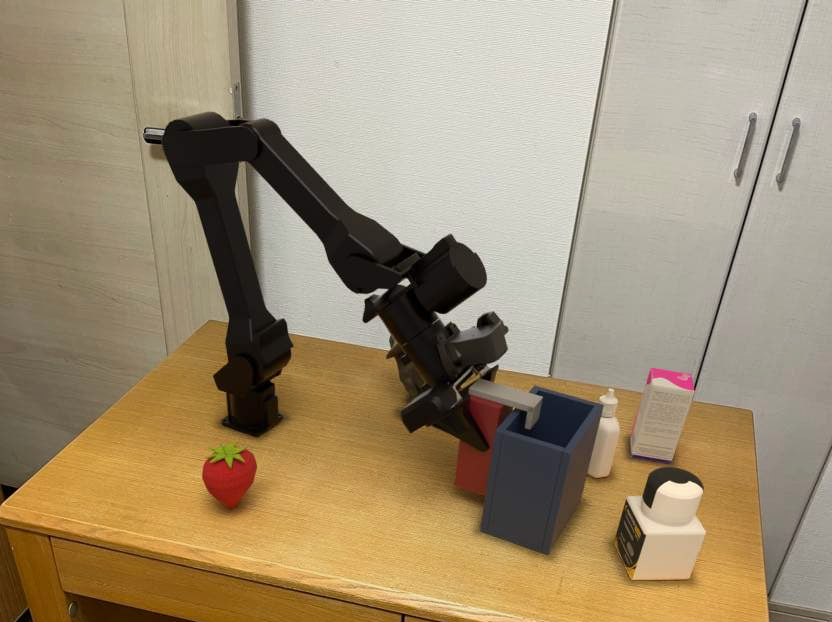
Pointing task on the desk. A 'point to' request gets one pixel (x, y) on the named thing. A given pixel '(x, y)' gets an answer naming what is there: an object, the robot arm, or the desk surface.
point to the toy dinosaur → (406, 371)
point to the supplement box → (661, 415)
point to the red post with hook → (490, 428)
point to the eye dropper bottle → (605, 437)
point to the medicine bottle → (662, 527)
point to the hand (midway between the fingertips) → (494, 440)
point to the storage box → (540, 470)
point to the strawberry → (229, 473)
